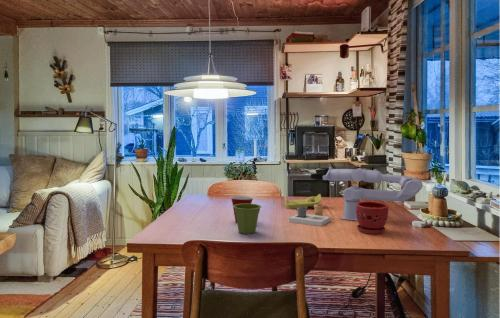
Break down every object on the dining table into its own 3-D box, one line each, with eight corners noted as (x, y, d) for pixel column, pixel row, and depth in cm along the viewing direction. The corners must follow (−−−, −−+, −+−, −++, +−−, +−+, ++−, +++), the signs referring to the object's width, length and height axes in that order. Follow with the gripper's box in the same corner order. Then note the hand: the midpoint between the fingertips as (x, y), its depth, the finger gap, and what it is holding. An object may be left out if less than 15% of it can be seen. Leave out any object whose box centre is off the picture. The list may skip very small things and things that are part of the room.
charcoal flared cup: (308, 220, 202) (308, 207, 202) (304, 222, 198) (304, 209, 198) (299, 219, 205) (299, 206, 204) (295, 221, 201) (295, 208, 200)
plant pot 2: (349, 231, 181) (350, 203, 180) (365, 226, 190) (366, 200, 189) (377, 237, 172) (378, 208, 171) (393, 231, 181) (394, 204, 180)
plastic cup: (257, 220, 201) (257, 195, 200) (245, 225, 191) (245, 199, 191) (238, 218, 206) (238, 193, 205) (225, 222, 197) (225, 197, 196)
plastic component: (285, 205, 228) (284, 194, 237) (286, 216, 232) (285, 205, 241) (322, 202, 227) (320, 192, 236) (322, 213, 231) (320, 202, 240)
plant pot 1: (237, 236, 173) (237, 209, 172) (230, 229, 184) (230, 204, 183) (264, 234, 176) (265, 207, 175) (256, 227, 187) (256, 202, 186)
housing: (330, 221, 201) (330, 216, 200) (321, 226, 190) (321, 221, 190) (299, 217, 209) (299, 213, 209) (288, 222, 199) (288, 217, 198)
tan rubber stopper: (324, 216, 210) (325, 204, 209) (321, 218, 206) (321, 206, 205) (315, 215, 212) (315, 203, 212) (312, 217, 208) (312, 205, 208)
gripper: (343, 163, 212) (318, 164, 219) (334, 169, 200) (307, 169, 207) (344, 177, 214) (319, 177, 220) (335, 184, 201) (309, 183, 208)
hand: (313, 174), depth 214 cm, fingers open, 7 cm apart
